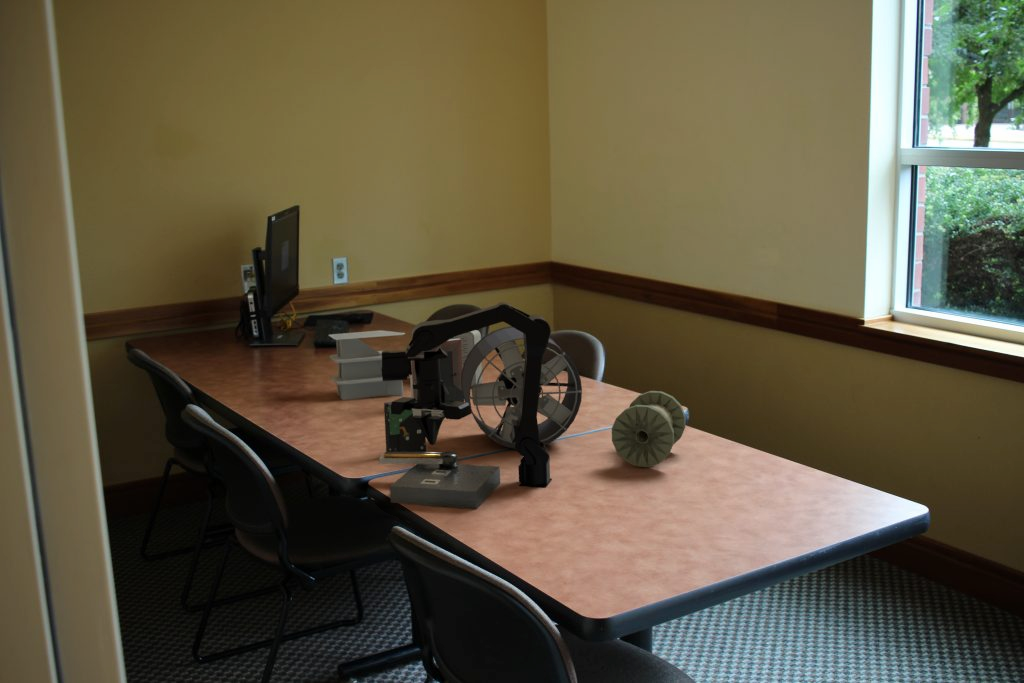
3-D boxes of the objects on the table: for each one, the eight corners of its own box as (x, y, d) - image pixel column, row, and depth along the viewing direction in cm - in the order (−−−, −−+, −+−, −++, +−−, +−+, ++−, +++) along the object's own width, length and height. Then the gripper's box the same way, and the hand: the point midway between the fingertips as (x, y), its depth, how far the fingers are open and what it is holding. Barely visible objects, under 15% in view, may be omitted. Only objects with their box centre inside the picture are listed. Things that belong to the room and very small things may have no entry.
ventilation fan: (470, 456, 254) (466, 340, 249) (462, 436, 272) (458, 328, 267) (585, 447, 259) (583, 334, 253) (570, 429, 277) (567, 322, 271)
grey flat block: (500, 483, 232) (499, 465, 232) (476, 509, 215) (475, 490, 215) (420, 478, 238) (419, 460, 237) (390, 503, 221) (389, 484, 220)
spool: (672, 468, 239) (672, 408, 236) (612, 464, 244) (611, 404, 242) (685, 449, 254) (685, 392, 252) (628, 445, 259) (627, 389, 257)
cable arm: (455, 468, 231) (455, 456, 230) (379, 467, 233) (378, 455, 232) (459, 462, 235) (458, 450, 234) (384, 461, 237) (383, 450, 237)
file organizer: (308, 399, 322) (303, 333, 318) (411, 387, 335) (408, 323, 331) (325, 417, 299) (320, 346, 295) (436, 403, 312) (433, 335, 308)
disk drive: (422, 451, 259) (420, 396, 257) (427, 454, 257) (424, 398, 254) (385, 458, 254) (382, 402, 252) (389, 461, 252) (386, 404, 249)
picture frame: (460, 407, 305) (458, 338, 301) (464, 408, 303) (461, 339, 299) (411, 415, 297) (407, 344, 294) (414, 417, 295) (411, 345, 291)
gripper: (481, 372, 228) (485, 438, 231) (413, 368, 237) (417, 431, 239) (456, 383, 218) (460, 451, 221) (386, 378, 227) (391, 444, 230)
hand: (432, 444), depth 228 cm, fingers closed
